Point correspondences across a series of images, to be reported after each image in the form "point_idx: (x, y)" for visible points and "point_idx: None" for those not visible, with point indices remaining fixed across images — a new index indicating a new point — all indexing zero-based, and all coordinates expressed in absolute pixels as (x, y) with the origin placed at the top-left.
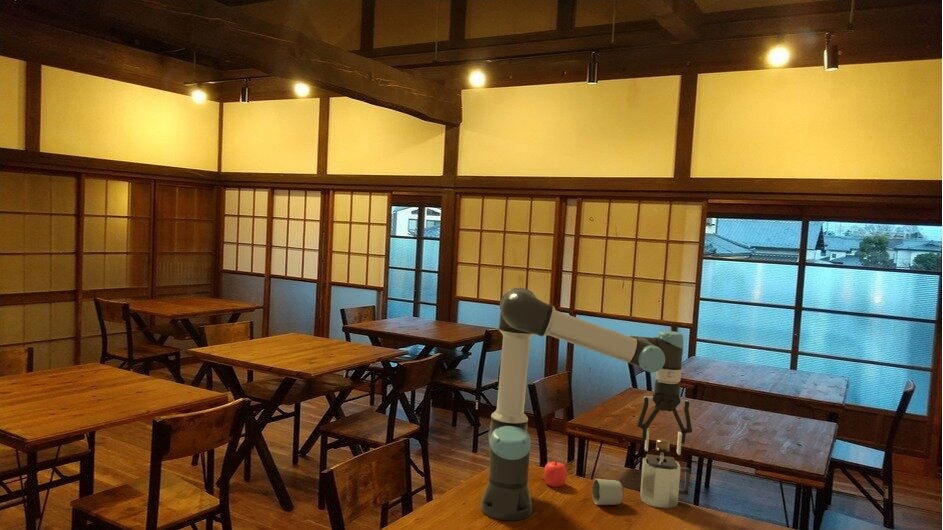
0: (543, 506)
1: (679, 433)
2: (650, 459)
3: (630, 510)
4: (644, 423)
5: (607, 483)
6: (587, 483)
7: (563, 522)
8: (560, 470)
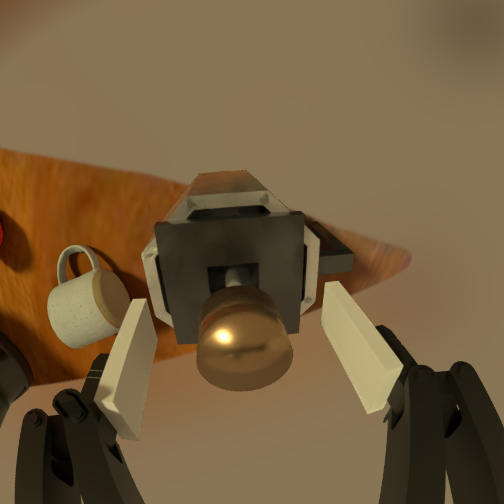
0: (24, 337)
1: (373, 404)
2: (178, 298)
3: None
4: (74, 444)
5: (82, 339)
6: (36, 180)
7: (72, 380)
8: None
